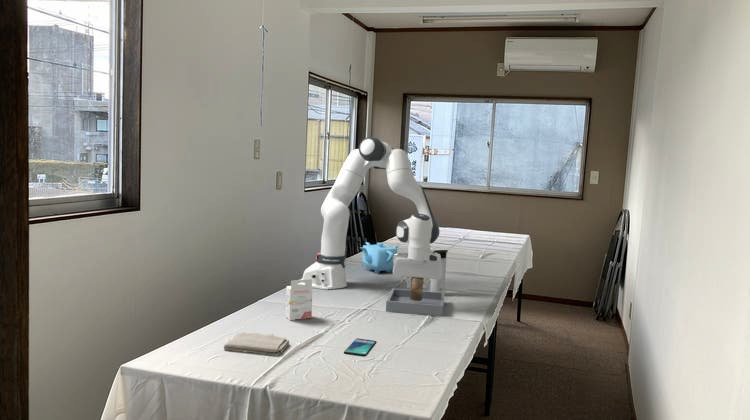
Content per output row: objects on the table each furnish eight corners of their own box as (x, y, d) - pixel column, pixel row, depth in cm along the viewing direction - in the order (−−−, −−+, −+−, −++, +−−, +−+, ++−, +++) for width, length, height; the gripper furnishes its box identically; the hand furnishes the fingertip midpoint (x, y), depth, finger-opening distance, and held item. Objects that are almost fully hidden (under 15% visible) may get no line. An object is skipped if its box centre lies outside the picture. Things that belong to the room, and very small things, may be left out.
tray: (385, 311, 231) (386, 301, 230) (391, 297, 252) (392, 288, 252) (442, 316, 228) (443, 306, 228) (443, 302, 250) (444, 292, 249)
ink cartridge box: (306, 315, 220) (308, 276, 218) (311, 318, 216) (313, 279, 214) (284, 317, 216) (286, 277, 214) (289, 321, 212) (290, 280, 210)
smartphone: (377, 340, 194) (365, 355, 180) (376, 343, 194) (365, 358, 180) (356, 337, 196) (342, 352, 181) (356, 340, 196) (342, 354, 181)
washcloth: (279, 357, 176) (280, 347, 176) (222, 352, 179) (222, 342, 178) (290, 345, 188) (290, 335, 188) (236, 339, 190) (236, 330, 190)
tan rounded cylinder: (409, 300, 238) (410, 278, 237) (410, 297, 243) (411, 275, 242) (421, 301, 237) (423, 279, 236) (422, 298, 242) (423, 276, 241)
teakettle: (393, 276, 295) (395, 247, 294) (356, 272, 298) (358, 244, 297) (398, 269, 314) (400, 241, 312) (364, 265, 317) (365, 238, 315)
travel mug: (444, 296, 259) (447, 251, 257) (429, 294, 260) (431, 250, 258) (445, 293, 265) (448, 249, 263) (430, 291, 267) (433, 247, 264)
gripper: (392, 253, 236) (390, 287, 238) (443, 257, 234) (441, 292, 235) (394, 251, 242) (392, 284, 244) (444, 255, 240) (441, 288, 241)
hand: (416, 288), depth 239 cm, fingers closed on tan rounded cylinder, 5 cm apart
